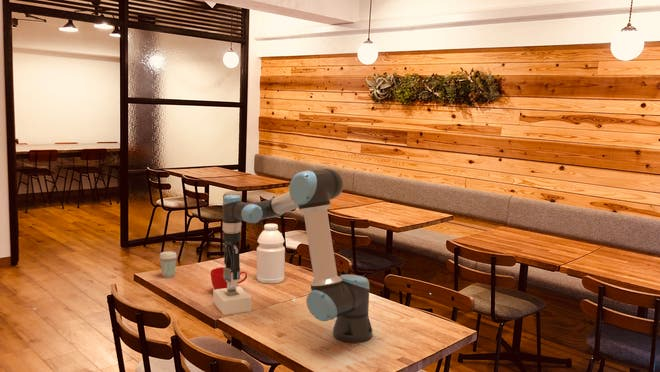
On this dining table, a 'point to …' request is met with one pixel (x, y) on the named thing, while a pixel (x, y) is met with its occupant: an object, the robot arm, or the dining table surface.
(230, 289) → the pin
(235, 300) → the block
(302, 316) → the dining table surface
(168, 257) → the coffee cup
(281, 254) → the bottle
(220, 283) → the ceramic cup
